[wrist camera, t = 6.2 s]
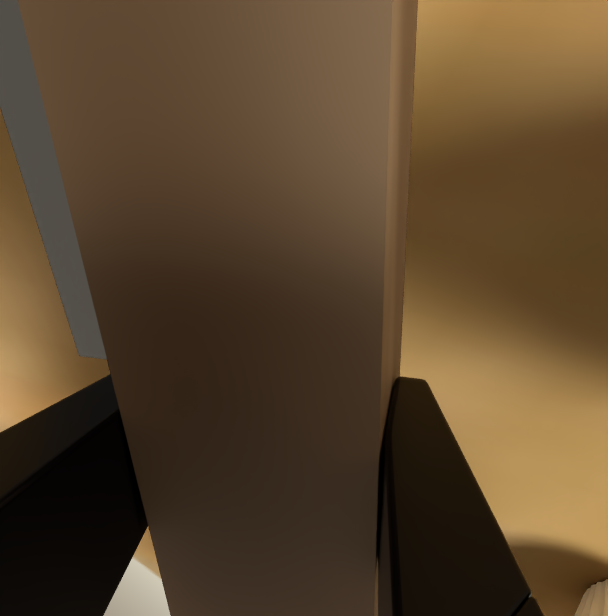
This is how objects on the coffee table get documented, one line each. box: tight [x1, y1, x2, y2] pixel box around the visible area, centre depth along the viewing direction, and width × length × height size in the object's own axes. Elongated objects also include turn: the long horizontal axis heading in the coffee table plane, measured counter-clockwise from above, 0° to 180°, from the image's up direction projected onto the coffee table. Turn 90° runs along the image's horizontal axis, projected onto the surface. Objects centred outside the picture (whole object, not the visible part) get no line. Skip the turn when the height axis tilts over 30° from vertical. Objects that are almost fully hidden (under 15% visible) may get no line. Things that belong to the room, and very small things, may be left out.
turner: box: [18, 0, 418, 616], centre depth 9 cm, size 5×18×3 cm, turn 4°
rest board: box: [0, 0, 107, 359], centre depth 15 cm, size 7×22×2 cm, turn 3°
